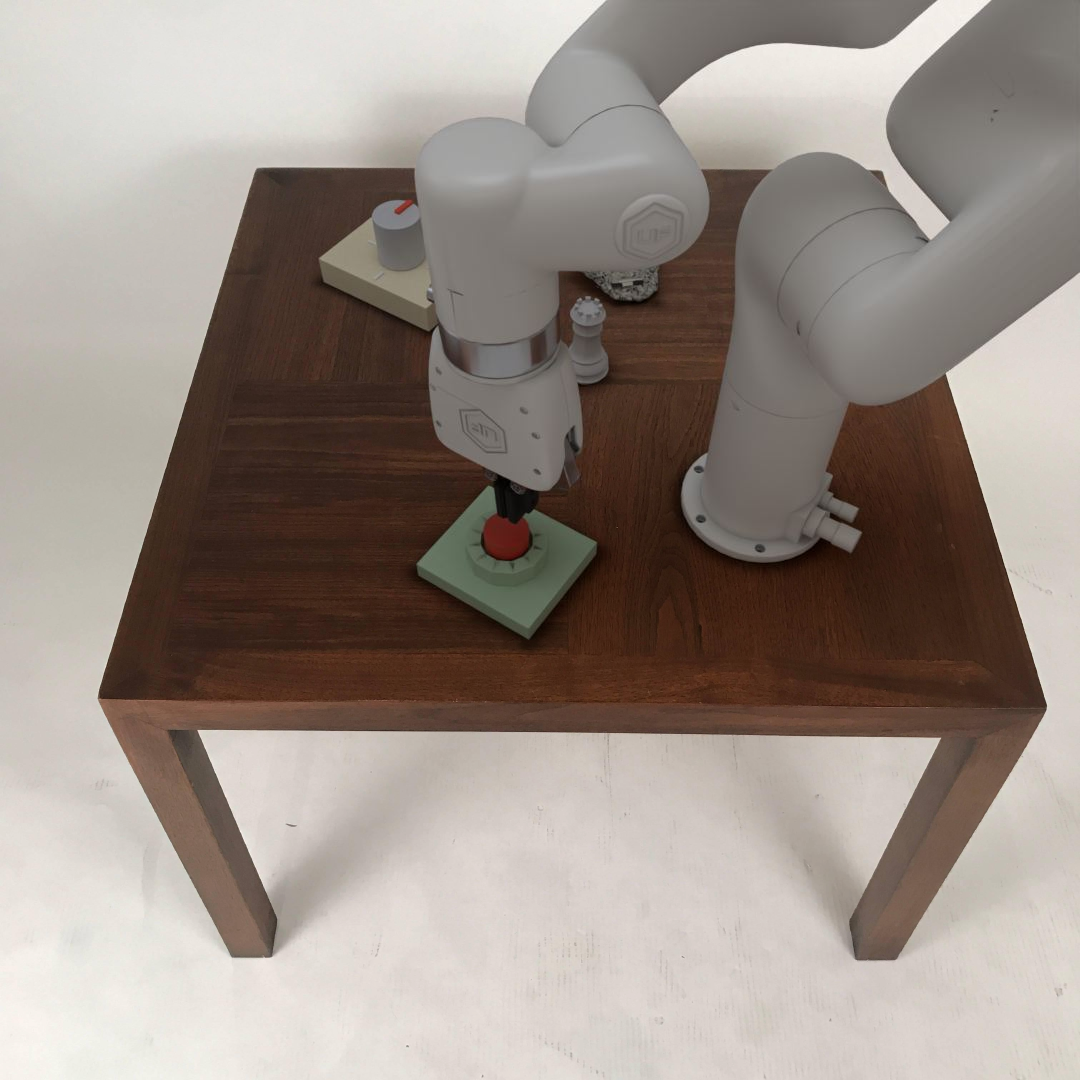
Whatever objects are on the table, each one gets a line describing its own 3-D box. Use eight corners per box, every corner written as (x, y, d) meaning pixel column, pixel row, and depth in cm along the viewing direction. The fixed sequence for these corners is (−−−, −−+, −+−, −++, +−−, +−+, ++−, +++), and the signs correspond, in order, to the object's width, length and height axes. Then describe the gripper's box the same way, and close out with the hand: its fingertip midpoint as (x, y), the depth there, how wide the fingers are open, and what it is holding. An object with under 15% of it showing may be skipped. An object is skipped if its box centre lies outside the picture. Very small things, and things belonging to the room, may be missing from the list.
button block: (596, 554, 82) (598, 528, 79) (528, 640, 77) (528, 616, 74) (489, 497, 86) (487, 471, 83) (418, 575, 81) (413, 550, 78)
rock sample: (613, 297, 95) (606, 205, 95) (564, 312, 101) (556, 226, 101) (688, 302, 102) (681, 216, 101) (636, 315, 108) (630, 234, 107)
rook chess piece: (604, 390, 93) (609, 324, 87) (558, 383, 94) (559, 318, 88) (611, 358, 96) (616, 292, 90) (566, 352, 97) (568, 286, 90)
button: (538, 537, 79) (537, 524, 78) (512, 567, 77) (511, 554, 76) (501, 517, 80) (500, 504, 79) (475, 547, 78) (474, 534, 77)
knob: (405, 277, 99) (399, 232, 95) (369, 260, 100) (361, 215, 96) (435, 252, 101) (430, 207, 97) (398, 236, 103) (392, 191, 99)
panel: (487, 278, 103) (486, 253, 101) (429, 332, 98) (426, 307, 96) (384, 233, 108) (380, 208, 106) (323, 282, 103) (317, 257, 101)
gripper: (368, 318, 62) (411, 500, 77) (568, 409, 56) (573, 585, 71) (440, 253, 65) (468, 439, 80) (634, 333, 60) (626, 516, 75)
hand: (517, 507), depth 76 cm, fingers closed
